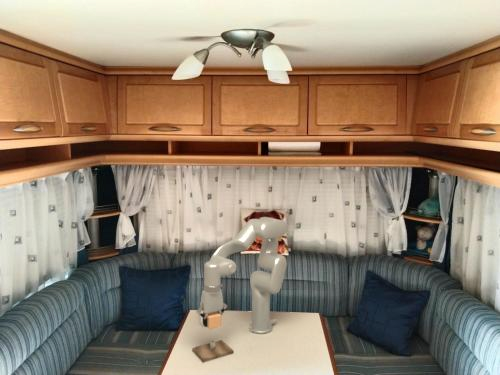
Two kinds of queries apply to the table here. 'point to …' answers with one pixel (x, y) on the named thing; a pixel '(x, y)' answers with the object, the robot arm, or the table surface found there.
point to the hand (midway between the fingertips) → (212, 323)
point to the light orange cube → (213, 320)
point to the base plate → (212, 350)
